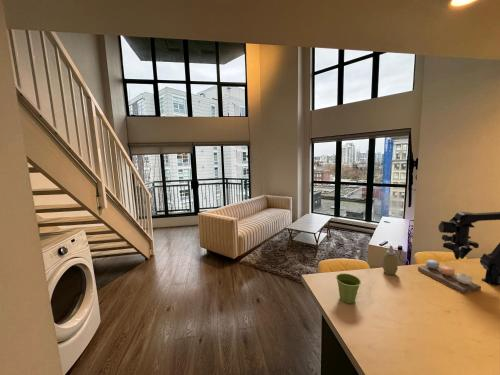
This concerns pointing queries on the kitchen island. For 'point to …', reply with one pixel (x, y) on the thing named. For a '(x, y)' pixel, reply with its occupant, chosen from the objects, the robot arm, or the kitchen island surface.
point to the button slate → (432, 264)
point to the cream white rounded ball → (464, 278)
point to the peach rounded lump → (447, 271)
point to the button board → (449, 280)
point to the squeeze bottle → (390, 262)
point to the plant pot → (348, 287)
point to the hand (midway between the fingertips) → (459, 259)
